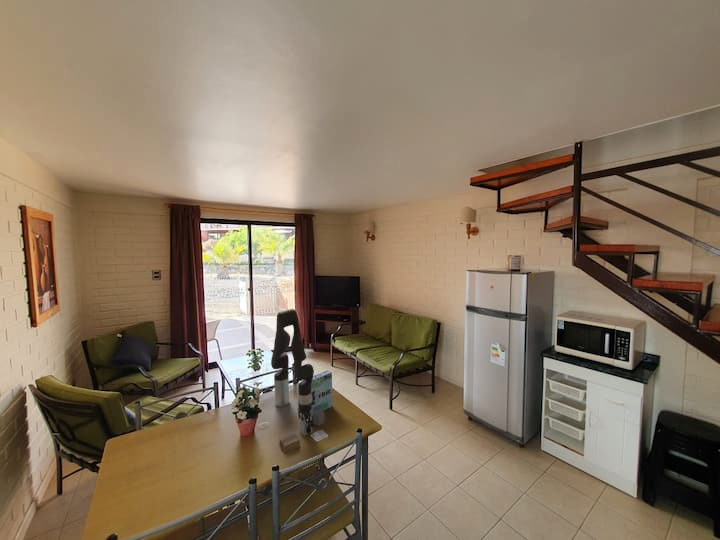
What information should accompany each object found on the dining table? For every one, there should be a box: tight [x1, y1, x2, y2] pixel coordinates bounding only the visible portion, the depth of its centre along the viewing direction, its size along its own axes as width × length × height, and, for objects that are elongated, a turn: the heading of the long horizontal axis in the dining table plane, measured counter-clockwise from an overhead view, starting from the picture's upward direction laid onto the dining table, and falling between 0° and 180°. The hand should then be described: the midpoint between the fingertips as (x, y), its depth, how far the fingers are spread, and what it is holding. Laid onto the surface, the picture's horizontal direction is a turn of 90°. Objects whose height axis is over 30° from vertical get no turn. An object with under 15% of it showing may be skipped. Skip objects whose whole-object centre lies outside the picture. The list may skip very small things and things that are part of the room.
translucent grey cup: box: [313, 410, 326, 427], centre depth 168 cm, size 5×5×6 cm
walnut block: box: [278, 431, 301, 453], centre depth 149 cm, size 8×8×4 cm
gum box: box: [310, 370, 334, 416], centre depth 180 cm, size 20×5×23 cm, turn 134°
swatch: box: [310, 429, 329, 443], centre depth 156 cm, size 7×7×1 cm
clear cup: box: [299, 419, 313, 437], centre depth 160 cm, size 5×5×6 cm
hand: (305, 429), depth 160 cm, fingers open, 6 cm apart
